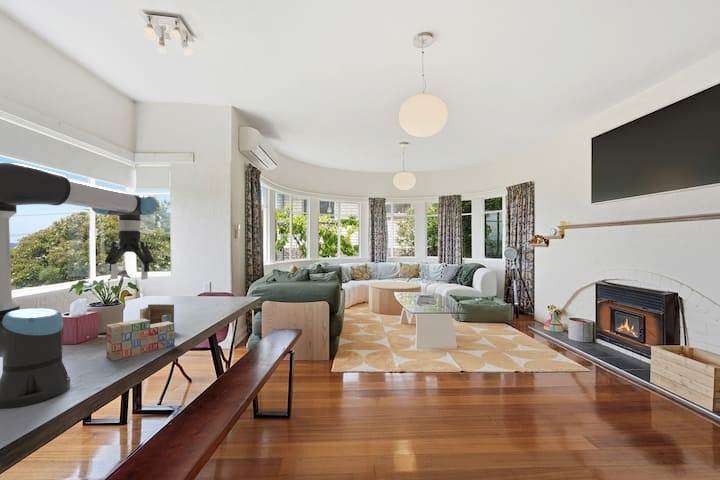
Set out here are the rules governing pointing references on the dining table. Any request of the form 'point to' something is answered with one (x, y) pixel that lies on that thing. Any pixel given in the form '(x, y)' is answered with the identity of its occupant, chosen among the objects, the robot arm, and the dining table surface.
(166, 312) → the alphabet block box
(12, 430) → the dining table surface
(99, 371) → the dining table surface
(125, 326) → the stack of blocks
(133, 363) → the dining table surface
